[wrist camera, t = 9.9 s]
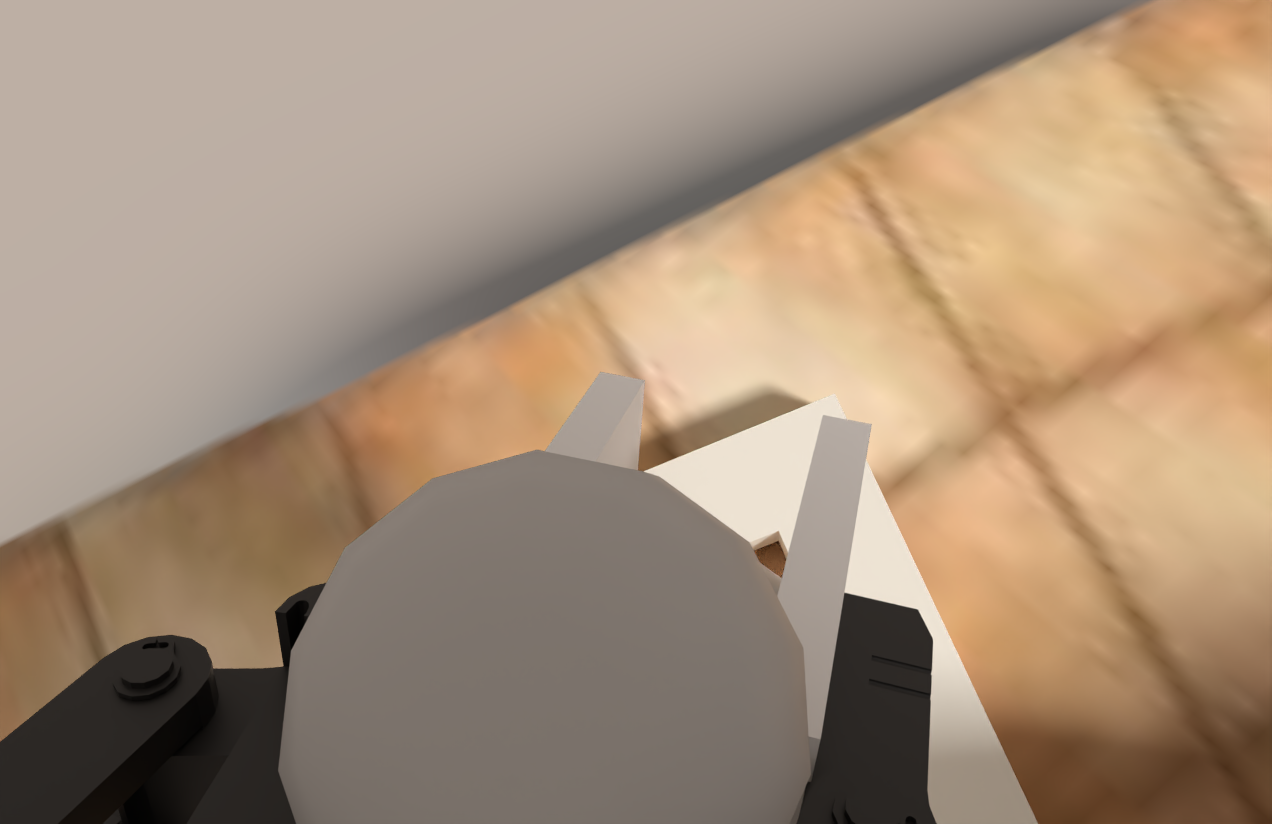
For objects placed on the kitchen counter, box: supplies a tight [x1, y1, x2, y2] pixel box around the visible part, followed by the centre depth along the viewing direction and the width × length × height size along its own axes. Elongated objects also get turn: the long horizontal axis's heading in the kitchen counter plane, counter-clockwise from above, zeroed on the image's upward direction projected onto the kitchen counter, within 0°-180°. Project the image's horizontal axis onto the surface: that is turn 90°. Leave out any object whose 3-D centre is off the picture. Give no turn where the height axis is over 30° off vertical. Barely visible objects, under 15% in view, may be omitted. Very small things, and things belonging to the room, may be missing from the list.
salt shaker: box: [278, 450, 811, 824], centre depth 13 cm, size 6×6×13 cm
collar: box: [644, 394, 1038, 824], centre depth 29 cm, size 14×14×2 cm
